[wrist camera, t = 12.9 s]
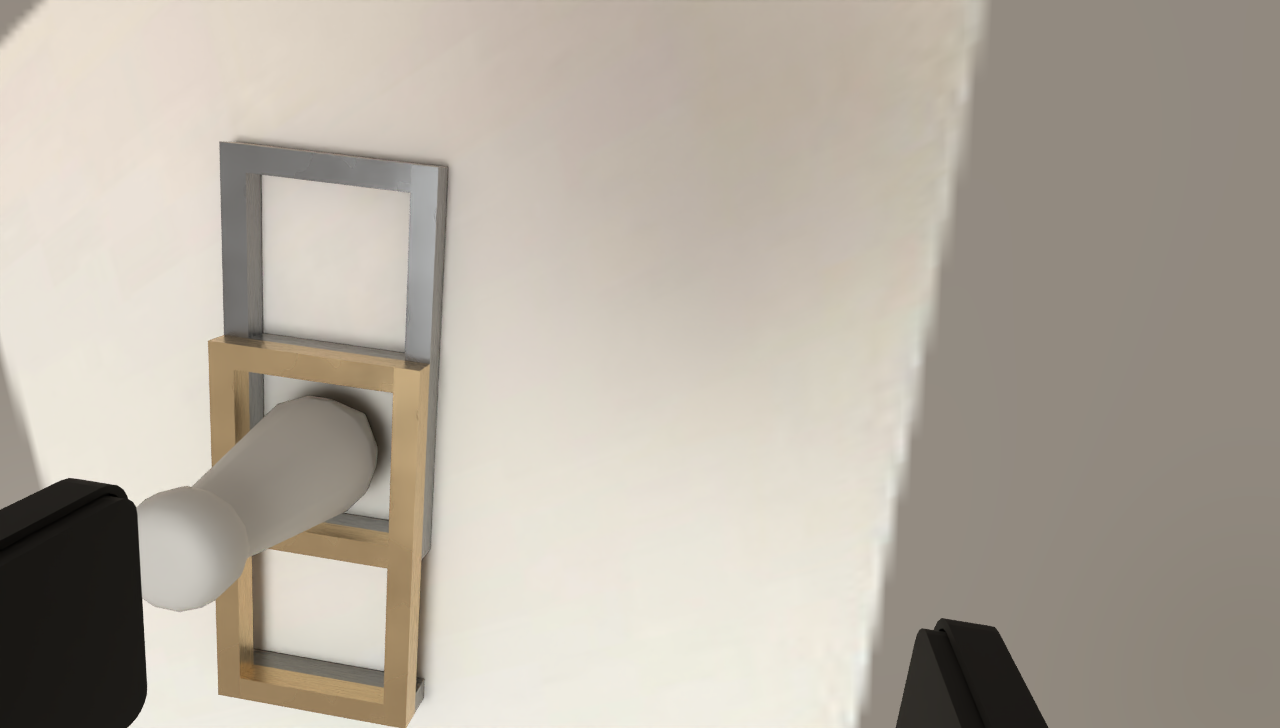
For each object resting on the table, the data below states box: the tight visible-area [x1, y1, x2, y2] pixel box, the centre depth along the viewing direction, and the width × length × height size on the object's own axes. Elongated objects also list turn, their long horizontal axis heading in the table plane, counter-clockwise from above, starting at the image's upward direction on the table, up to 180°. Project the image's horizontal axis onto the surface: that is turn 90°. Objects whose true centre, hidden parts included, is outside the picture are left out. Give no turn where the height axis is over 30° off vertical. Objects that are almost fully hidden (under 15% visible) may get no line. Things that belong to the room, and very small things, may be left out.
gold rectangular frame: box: [208, 335, 430, 728], centre depth 41 cm, size 19×10×2 cm, turn 174°
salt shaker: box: [136, 396, 378, 612], centre depth 35 cm, size 6×6×13 cm
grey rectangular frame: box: [219, 142, 448, 560], centre depth 39 cm, size 19×10×1 cm, turn 174°
